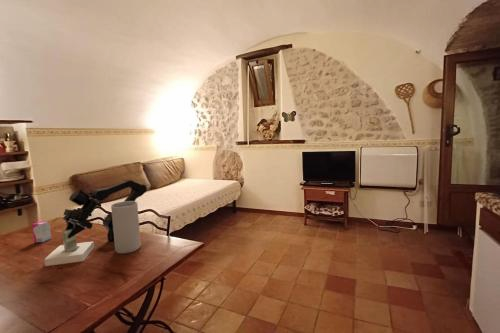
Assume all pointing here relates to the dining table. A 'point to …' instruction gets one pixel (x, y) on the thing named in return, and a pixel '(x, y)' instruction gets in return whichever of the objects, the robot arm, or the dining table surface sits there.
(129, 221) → the cylinder vase
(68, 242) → the peg
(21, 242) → the dining table surface
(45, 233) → the supplement box
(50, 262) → the socket block
